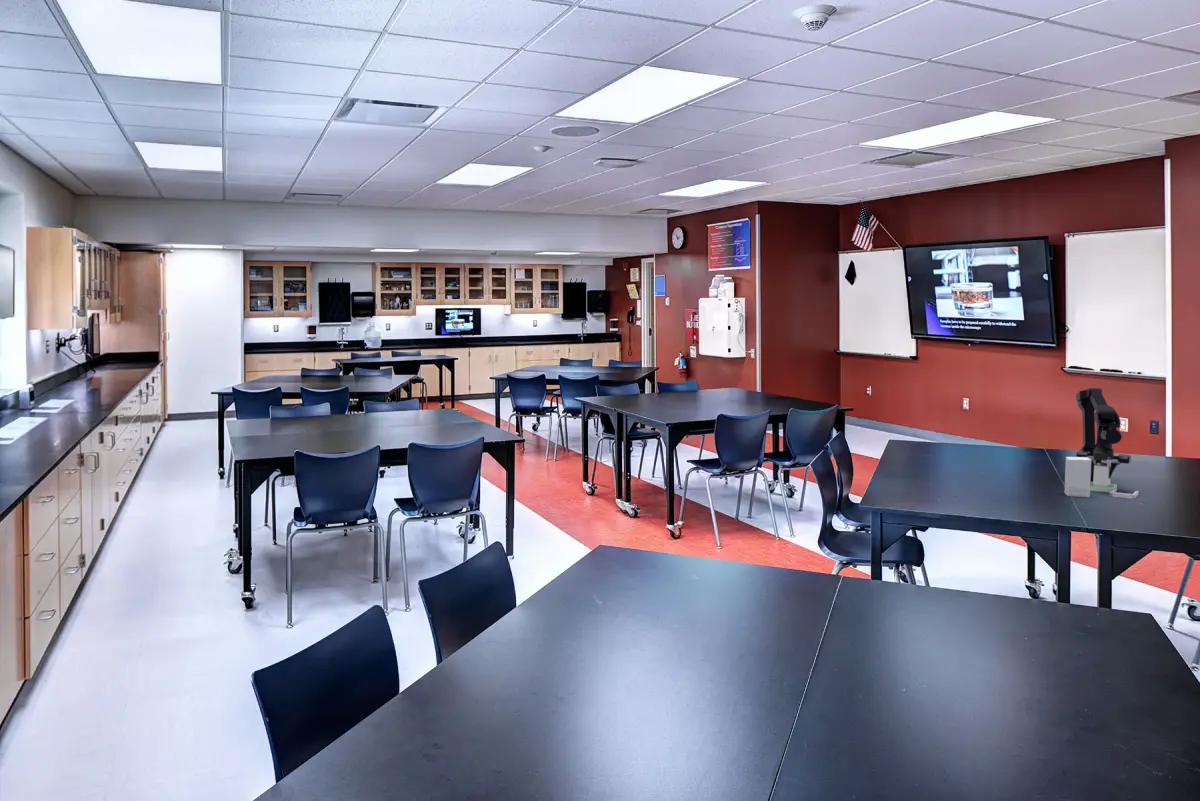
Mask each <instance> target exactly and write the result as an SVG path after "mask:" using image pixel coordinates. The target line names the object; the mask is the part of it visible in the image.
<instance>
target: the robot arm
mask: <svg viewBox="0 0 1200 801" xmlns="http://www.w3.org/2000/svg"><path fill="white" fill-rule="evenodd" d="M1075 400H1076V402H1077V406H1078V408H1079V410H1080V411H1081V418H1082V419H1081V420H1082V421H1081V422H1082V445H1081V447H1080V448H1079V450H1078V451H1077V452H1076V455H1075V457H1088V458H1089V459H1091V460H1092V461H1091V480H1090V483H1091V482H1093V477H1094V465H1096V464H1097V463H1100V462H1103V461H1104V462H1106V461H1107V460H1109V461H1112V462H1110V465H1111V468H1110V473H1109V479H1110V478H1112V475H1113V474H1114V472H1115V470H1116V468H1117V466H1118V465H1121V464H1126V465H1127V464H1130V463H1131V462H1132V456H1131V455H1130V454H1125V453H1123V454H1122V453H1120V454H1119V455H1115V450H1114V449H1115V448H1113V445H1115V444H1118V443H1120V442H1121V440H1122V437H1123V436H1122V434H1121V432H1120V431H1119V430H1117V428H1121V420H1120V417H1119V414H1118V412H1117V411H1116V410H1115V409H1114V407H1112V406H1110V405H1108V403H1107V401H1106V399H1105V397H1104V395H1103V390H1102V388H1099V387H1095V388H1094V387H1089V388H1087V389H1083V390H1079V391H1078V392H1076V396H1075ZM1095 424H1096V425H1095ZM1096 427H1097V428H1096Z"/></svg>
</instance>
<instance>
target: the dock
mask: <svg viewBox="0 0 1200 801" xmlns="http://www.w3.org/2000/svg"><path fill="white" fill-rule="evenodd" d="M1117 490H1118V489H1113V490H1112V491H1110V492H1109V494H1108V496H1109V497H1114V498H1121V499H1122V498H1124V499H1130V500H1135V499H1136V498H1137V497H1138V496H1139V490H1135V491H1134V493H1128V492H1127V493H1125V492H1118V491H1117Z"/></svg>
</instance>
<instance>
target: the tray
mask: <svg viewBox="0 0 1200 801" xmlns="http://www.w3.org/2000/svg"><path fill="white" fill-rule="evenodd" d="M1117 488H1118V484H1115V483H1110V484H1109V485H1108V486H1107V487H1106V486H1098V485H1093V482H1090V492H1091V491H1092V492H1098V493H1100V492H1101V493H1109V492H1110V491H1112V490H1113V489H1117ZM1117 490H1118V489H1117Z"/></svg>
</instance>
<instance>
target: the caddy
mask: <svg viewBox="0 0 1200 801" xmlns="http://www.w3.org/2000/svg"><path fill="white" fill-rule="evenodd" d="M1110 468H1111V463H1109V464H1108V463H1107V462H1106V461H1104V462H1103V461H1101V462H1100V463H1097V464H1096V465H1094V477H1093V485H1098V486H1106V487H1107V486H1108V485H1109V484H1111V481H1112V480H1111V478H1112V477H1111V478H1110V479H1109V473H1110Z"/></svg>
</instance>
